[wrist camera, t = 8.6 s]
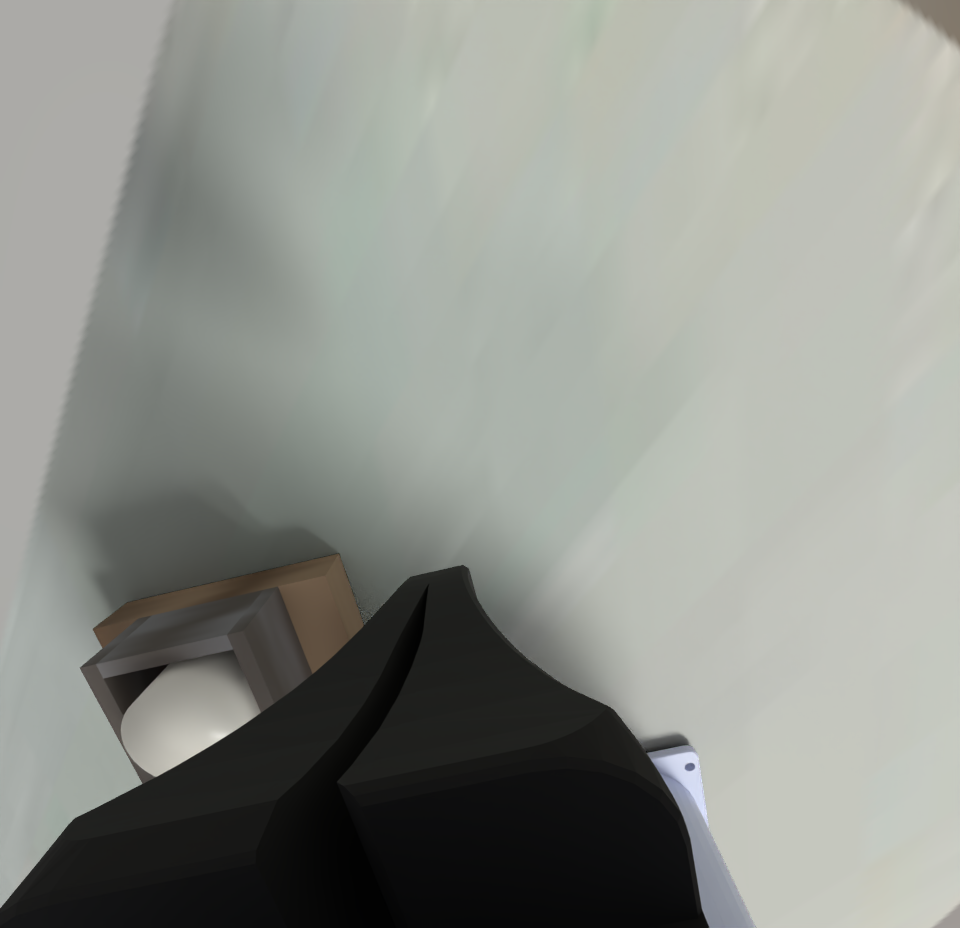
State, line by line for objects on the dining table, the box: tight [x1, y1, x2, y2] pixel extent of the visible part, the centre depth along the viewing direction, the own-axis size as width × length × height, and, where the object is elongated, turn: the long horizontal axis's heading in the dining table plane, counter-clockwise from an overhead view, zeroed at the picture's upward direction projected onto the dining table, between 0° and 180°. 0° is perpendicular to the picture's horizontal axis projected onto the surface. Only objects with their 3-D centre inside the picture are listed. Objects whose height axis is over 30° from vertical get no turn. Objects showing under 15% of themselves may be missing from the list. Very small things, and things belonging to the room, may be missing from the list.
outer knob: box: [121, 650, 261, 777], centre depth 18 cm, size 4×4×4 cm
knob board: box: [80, 554, 364, 784], centre depth 21 cm, size 10×18×5 cm, turn 14°
